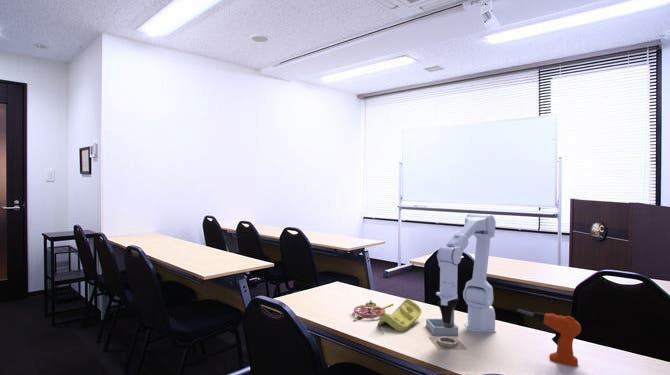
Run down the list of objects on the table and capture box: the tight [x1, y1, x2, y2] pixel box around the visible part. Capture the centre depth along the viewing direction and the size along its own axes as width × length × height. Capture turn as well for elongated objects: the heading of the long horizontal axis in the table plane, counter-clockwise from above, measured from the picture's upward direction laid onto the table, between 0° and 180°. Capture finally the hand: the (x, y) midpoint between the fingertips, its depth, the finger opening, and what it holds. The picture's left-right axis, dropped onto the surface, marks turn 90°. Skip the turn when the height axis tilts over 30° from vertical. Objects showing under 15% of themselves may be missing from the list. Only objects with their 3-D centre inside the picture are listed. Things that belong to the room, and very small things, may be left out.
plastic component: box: [377, 298, 423, 332], centre depth 149 cm, size 20×7×10 cm
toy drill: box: [516, 308, 582, 367], centre depth 121 cm, size 5×19×15 cm, turn 54°
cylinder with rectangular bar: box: [441, 308, 455, 328], centre depth 129 cm, size 4×4×7 cm
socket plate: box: [428, 335, 468, 351], centre depth 129 cm, size 10×10×1 cm
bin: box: [425, 318, 459, 336], centre depth 141 cm, size 9×9×3 cm
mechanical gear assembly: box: [353, 299, 394, 322], centre depth 161 cm, size 30×4×15 cm
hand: (447, 320), depth 129 cm, fingers closed on cylinder with rectangular bar, 4 cm apart
